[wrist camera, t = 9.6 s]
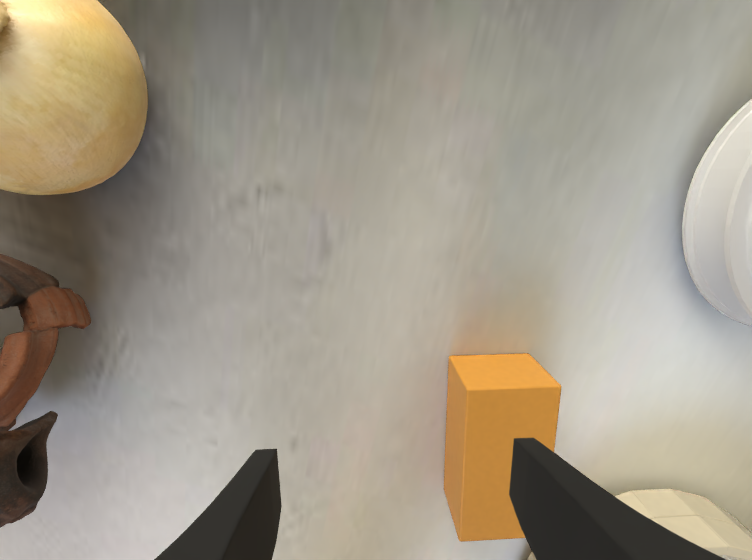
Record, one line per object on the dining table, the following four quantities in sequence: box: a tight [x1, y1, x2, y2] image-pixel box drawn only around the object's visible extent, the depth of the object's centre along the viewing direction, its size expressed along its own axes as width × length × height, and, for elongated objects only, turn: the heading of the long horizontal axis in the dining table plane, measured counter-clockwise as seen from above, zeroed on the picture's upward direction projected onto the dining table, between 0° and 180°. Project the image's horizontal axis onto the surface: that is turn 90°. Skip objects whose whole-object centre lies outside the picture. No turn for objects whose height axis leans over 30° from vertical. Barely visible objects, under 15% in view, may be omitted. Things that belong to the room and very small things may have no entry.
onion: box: [0, 0, 148, 195], centre depth 14 cm, size 8×8×7 cm
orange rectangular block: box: [444, 353, 561, 541], centre depth 21 cm, size 8×4×4 cm, turn 1°
